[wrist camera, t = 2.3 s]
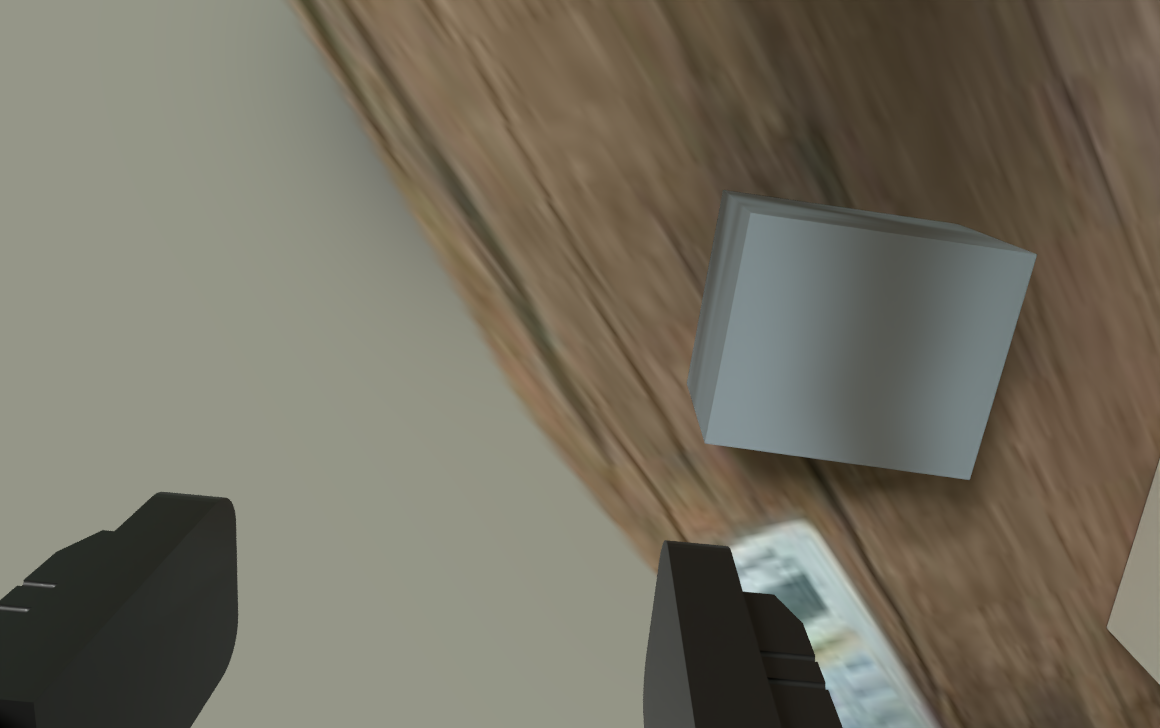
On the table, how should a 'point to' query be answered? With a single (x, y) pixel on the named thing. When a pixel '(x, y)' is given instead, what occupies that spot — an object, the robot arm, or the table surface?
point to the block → (853, 334)
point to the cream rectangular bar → (1142, 590)
